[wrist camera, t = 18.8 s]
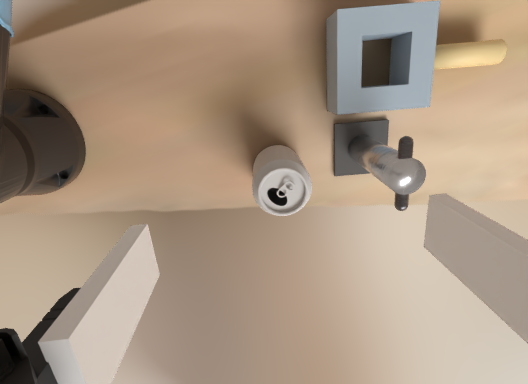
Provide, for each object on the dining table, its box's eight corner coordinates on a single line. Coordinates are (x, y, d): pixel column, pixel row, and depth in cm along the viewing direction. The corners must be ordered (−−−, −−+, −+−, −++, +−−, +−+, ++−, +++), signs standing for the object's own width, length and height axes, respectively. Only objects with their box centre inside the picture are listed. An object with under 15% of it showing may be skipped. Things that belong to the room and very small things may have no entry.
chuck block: (327, 110, 45) (337, 114, 40) (326, 19, 41) (337, 9, 36) (475, 98, 45) (507, 100, 40) (489, 5, 41) (526, -7, 36)
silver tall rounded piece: (347, 176, 48) (386, 214, 34) (348, 121, 45) (390, 139, 31) (373, 173, 48) (422, 211, 34) (375, 119, 45) (429, 135, 31)
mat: (334, 175, 49) (335, 176, 48) (334, 124, 46) (335, 124, 45) (384, 170, 49) (385, 171, 48) (387, 119, 46) (388, 119, 45)
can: (243, 169, 48) (239, 195, 37) (275, 133, 46) (282, 149, 35) (277, 199, 50) (284, 232, 38) (310, 165, 48) (327, 190, 37)
